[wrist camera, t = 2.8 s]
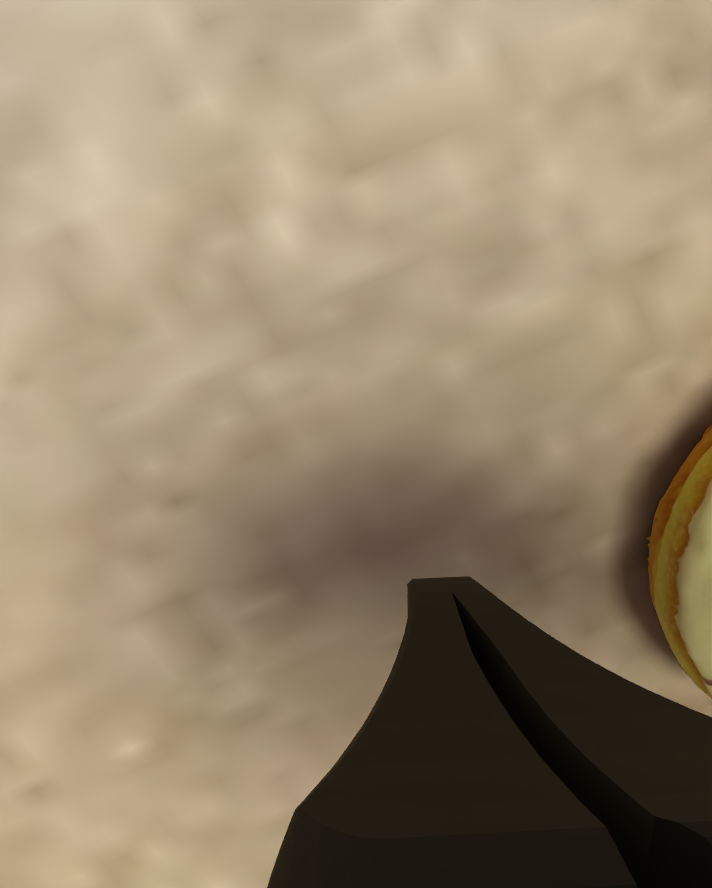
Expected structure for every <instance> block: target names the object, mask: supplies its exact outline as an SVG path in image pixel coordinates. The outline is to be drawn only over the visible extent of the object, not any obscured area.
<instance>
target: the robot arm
mask: <svg viewBox="0 0 712 888" xmlns="http://www.w3.org/2000/svg"><path fill="white" fill-rule="evenodd" d="M407 587H408V619H407V624H406V629H405V633H404V636H403V640H402V643H401V646H400V649H399V652H398V655H397V658H396V661H395V663H394V666H393V668H392V671H391V673H390V675H389V678H388V680H387V682H386V684H385V686H384V688H383V690H382V692H381V694H380V696H379V698H378V700H377V702H376V703H375V705H374V707H373V709H372V711H371V713H370V714H369V716H368V718H367V719H366V721H365V723H364V724H363V726H362V727H361V729H360V730H359V732H358V733H357V734H356V736H355V737H354V739H353V740H352V742H351V743H350V744H349V746H348V747H347V749H346V750H345V751H344V753H343V754H342V756H341V757H340V758H339V760H338V761H337V762H336V764H335V765H334V766H333V767H332V769H331V770H330V771H329V772H328V773H327V775H326V776H325V777H324V778H323V779H322V780H321V781H320V782H319V784H318V785H317V786H316V787H315V788H314V789H313V790H312V791H311V793H310V794H309V795H308V796H307V797H306V798H305V799H304V801H303V802H302V803H301V804H300V805H299V806H298V807H297V808H296V809H295V811H294V814H293V816H292V819H291V821H290V824H289V827H288V829H287V832H286V835H285V837H284V840H283V842H282V845H281V848H280V851H279V853H278V856H277V859H276V862H275V865H274V868H273V871H272V874H271V877H270V880H269V884H268V887H267V888H712V717H709V716H707V715H704V714H702V713H699V712H697V711H694V710H692V709H689V708H687V707H685V706H683V705H680V704H678V703H676V702H674V701H671V700H669V699H667V698H665V697H662V696H660V695H658V694H656V693H653V692H651V691H649V690H647V689H645V688H642V687H640V686H638V685H636V684H634V683H632V682H630V681H628V680H626V679H624V678H622V677H620V676H618V675H617V674H615V673H613V672H611V671H609V670H607V669H605V668H604V667H602V666H600V665H598V664H596V663H594V662H592V661H591V660H589V659H587V658H585V657H584V656H582V655H580V654H578V653H577V652H575V651H573V650H572V649H570V648H569V647H567V646H566V645H564V644H562V643H561V642H559V641H558V640H556V639H555V638H553V637H551V636H550V635H548V634H547V633H545V632H544V631H542V630H541V629H540V628H538V627H537V626H535V625H534V624H532V623H531V622H529V621H528V620H527V619H525V618H524V617H522V616H521V615H520V614H518V613H517V612H516V611H514V610H513V609H512V608H510V607H509V606H508V605H506V604H505V603H504V602H502V601H501V600H500V599H498V598H497V597H496V596H495V595H493V594H492V593H491V592H489V591H488V590H487V589H485V588H484V587H483V586H482V585H480V584H479V583H478V582H476V581H475V580H473V579H472V578H470V577H447V578H425V579H412V580H411V581H410V582H409V583H408V584H407Z"/></svg>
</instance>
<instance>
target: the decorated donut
mask: <svg viewBox="0 0 712 888" xmlns="http://www.w3.org/2000/svg"><path fill="white" fill-rule="evenodd" d="M646 539H647V540H649V541H650V543H649V544H648V547H649V557H648V559H647V560H648V561H649V566H648V572H649V583H650V594H651V598H652V602H653V605H654V608H655V610H656V613H657V616H658V619H659V622H660V624H661V627H662V629H663V631H664V634H665V637H666V639H667V641H668V643H669V645H670V647H671V649H672V651H673V653H674V655H675V657H676V658H677V660H678V662H679V663H680V665H681V667H682V668H683V669H684V671H685V672H686V673H687V674H688V675H689V677H690V678H691V679H692V680H693V682H694V683H695V684H696V685H697V686H698V687H699V688H701V689H702V690H703V691H704V692H705V693H706V694H707V695H708V696H710V697H711V698H712V425H711V426H710V427H708V428H707V429H706V431H705V432H704V434H703V436H702V439H701V440H700V441H699V442H698V443H697V444H696V446H695V447H694V449H693V450H692V452H691V453H690V454H689V456H688V457H687V459H686V460H685V462H684V463H683V464H682V466H681V467H680V469H679V470H678V473H677V474H676V475H675V477H674V478H673V480H672V482H671V484H670V486H669V488H668V489H667V491H666V493H665V494H664V496H663V497H662V499H661V500H660V501H659V505H658V508H657V510H656V512H655V515H654V521H653V527H652V533H651V536H650V537H648V538H646Z"/></svg>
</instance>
